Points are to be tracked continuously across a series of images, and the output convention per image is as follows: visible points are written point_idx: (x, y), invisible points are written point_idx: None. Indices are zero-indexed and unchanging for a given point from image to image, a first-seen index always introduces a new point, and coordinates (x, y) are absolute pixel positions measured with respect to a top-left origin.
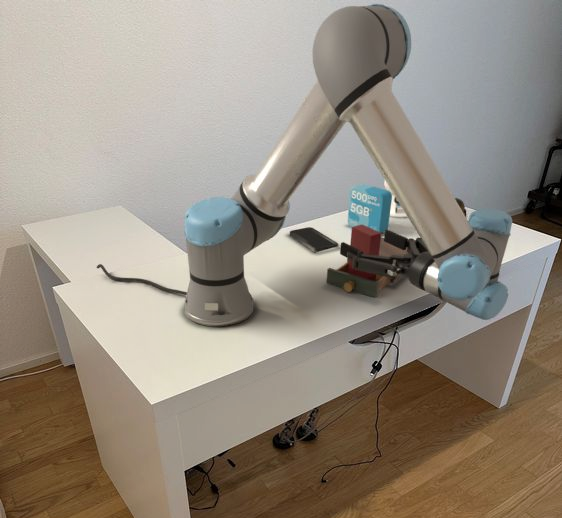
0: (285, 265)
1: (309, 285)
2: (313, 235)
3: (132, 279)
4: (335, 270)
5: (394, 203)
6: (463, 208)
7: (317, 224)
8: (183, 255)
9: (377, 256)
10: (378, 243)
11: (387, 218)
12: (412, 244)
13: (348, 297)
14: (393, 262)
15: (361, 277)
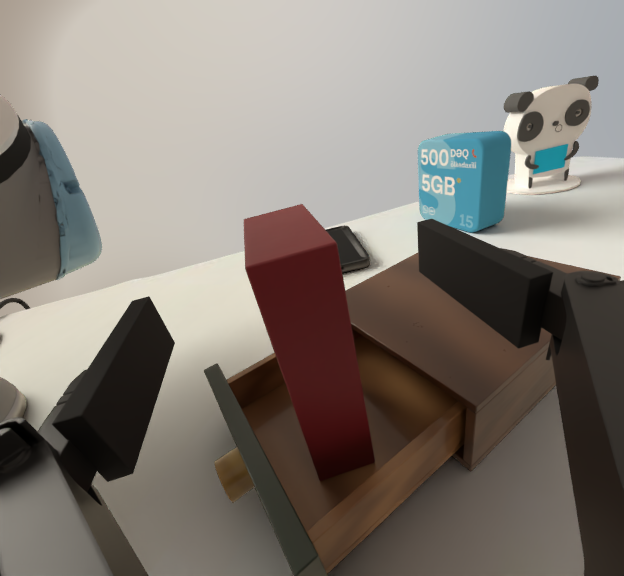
0: (229, 310)
1: (203, 393)
2: (337, 240)
3: None
4: (218, 382)
5: (526, 170)
6: None
7: (368, 220)
8: (127, 281)
9: (60, 565)
10: (332, 304)
11: (500, 195)
12: (616, 352)
13: (248, 505)
14: (472, 365)
15: (262, 464)
